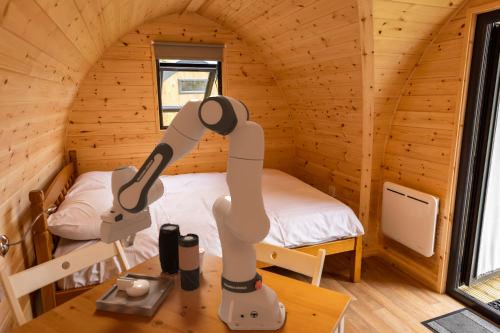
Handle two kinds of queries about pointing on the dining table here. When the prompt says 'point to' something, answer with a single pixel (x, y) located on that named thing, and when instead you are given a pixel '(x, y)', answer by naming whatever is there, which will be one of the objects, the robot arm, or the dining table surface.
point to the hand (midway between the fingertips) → (129, 246)
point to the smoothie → (201, 257)
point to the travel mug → (189, 262)
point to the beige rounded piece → (133, 286)
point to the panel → (137, 305)
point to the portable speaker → (169, 248)
